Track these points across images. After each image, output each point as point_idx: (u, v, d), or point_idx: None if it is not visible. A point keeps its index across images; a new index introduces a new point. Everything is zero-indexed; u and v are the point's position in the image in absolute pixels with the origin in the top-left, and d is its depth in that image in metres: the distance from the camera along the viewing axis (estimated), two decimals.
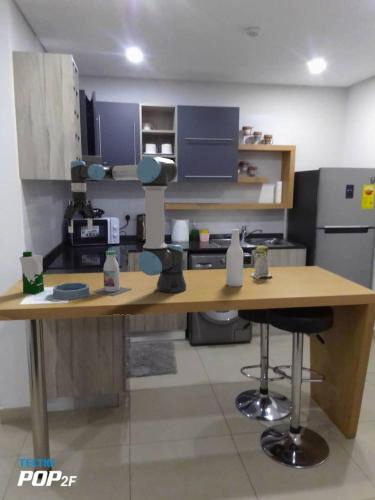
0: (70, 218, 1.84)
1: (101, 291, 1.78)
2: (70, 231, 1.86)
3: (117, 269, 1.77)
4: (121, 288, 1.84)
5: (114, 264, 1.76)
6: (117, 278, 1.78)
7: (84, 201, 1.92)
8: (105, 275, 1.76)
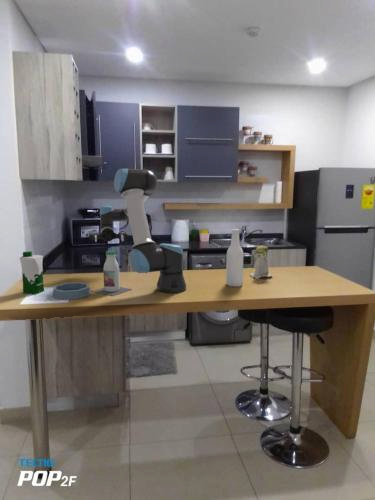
0: (93, 235, 1.91)
1: (101, 291, 1.78)
2: (95, 238, 1.85)
3: (117, 269, 1.77)
4: (121, 288, 1.84)
5: (114, 264, 1.76)
6: (117, 278, 1.78)
7: None
8: (105, 275, 1.76)
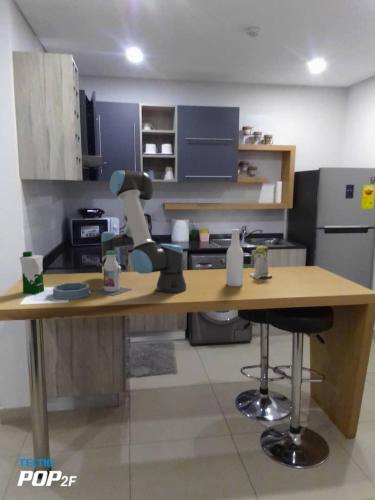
0: (100, 266, 1.80)
1: (101, 291, 1.78)
2: (102, 271, 1.74)
3: (117, 269, 1.77)
4: (121, 288, 1.84)
5: (114, 264, 1.76)
6: (117, 278, 1.78)
7: None
8: (105, 275, 1.76)
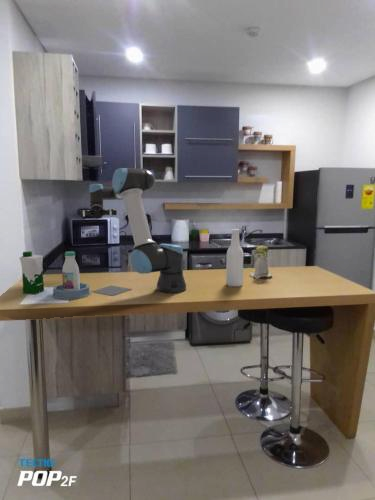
0: (81, 210, 1.89)
1: (101, 291, 1.78)
2: (82, 213, 1.82)
3: (76, 271, 1.71)
4: (121, 288, 1.84)
5: (73, 265, 1.70)
6: (77, 280, 1.71)
7: None
8: (64, 277, 1.69)
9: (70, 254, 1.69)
